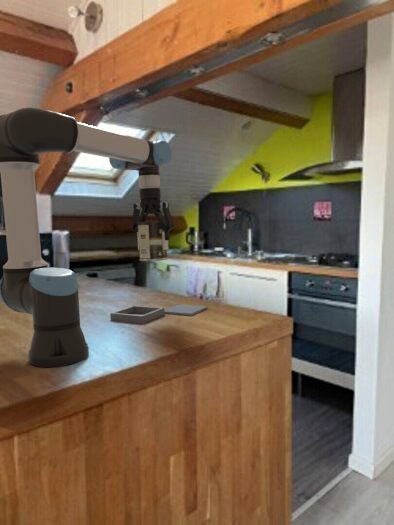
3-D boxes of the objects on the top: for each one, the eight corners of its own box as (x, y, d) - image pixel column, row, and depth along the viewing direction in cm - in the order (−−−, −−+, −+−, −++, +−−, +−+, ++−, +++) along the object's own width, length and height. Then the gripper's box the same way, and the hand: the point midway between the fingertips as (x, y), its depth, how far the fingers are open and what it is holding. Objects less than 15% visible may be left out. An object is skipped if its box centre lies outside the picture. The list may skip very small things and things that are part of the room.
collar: (142, 323, 146) (142, 316, 145) (110, 320, 152) (110, 313, 152) (164, 314, 158) (164, 307, 158) (134, 311, 164) (133, 305, 164)
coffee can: (170, 257, 160) (168, 220, 158) (163, 261, 150) (161, 221, 148) (144, 258, 162) (142, 221, 160) (135, 261, 152) (133, 222, 150)
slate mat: (191, 315, 154) (191, 313, 154) (161, 313, 160) (161, 311, 160) (207, 308, 166) (207, 306, 166) (178, 306, 172) (178, 304, 172)
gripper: (182, 186, 151) (185, 248, 154) (130, 190, 162) (133, 248, 164) (171, 185, 145) (174, 250, 147) (118, 189, 155) (122, 250, 158)
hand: (153, 249), depth 156 cm, fingers closed on coffee can, 10 cm apart
